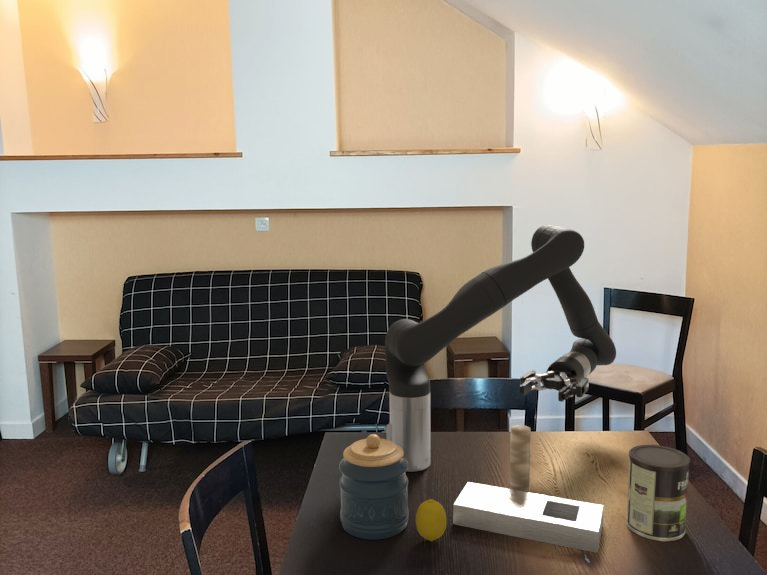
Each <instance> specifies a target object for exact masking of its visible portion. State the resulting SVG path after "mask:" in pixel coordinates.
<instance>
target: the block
mask: <svg viewBox="0 0 767 575" xmlns="http://www.w3.org/2000/svg"><path fill="white" fill-rule="evenodd" d="M604 507H605V506H604V504H600V503H593V502H587V501H581V500H574V499H571V498H570V499H569V498H564V497H559V496H558V497H557V496H552V495H547V494H540V493H534V492H530V491H529V492H524V491H518V490H512V489H510V488H507V487H501V486H500V487H499V486H495V485H489V484H483V483H476V482H472V481H471V482H470V481H467V483H466V484H465V486H464V487H463V489H462V490H461V491H460V494H459V495H458V496H457V498H456V499H455V501H454V503H453V507H452V508H453V513H452V518H453V519H452V524H453V525H454V526H455V525H456V526H460V527H464V528H465V527H466V528H470V529H475V530H481V531H485V532H490V533H495V534H501V535H505V536H510V537H515V538H521V539H526V540H530V541H536V542H540V543H545V544H550V545H555V546H560V547H563V548H564V547H566V548H570V549H575V550H581V551H584V552H585V551H586V552H590V553H595V554H598V552H599V548H600V543H601V536H602V531H603V527H604V524H603V523H604Z"/></svg>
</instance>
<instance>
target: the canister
mask: <svg viewBox="0 0 767 575" xmlns="http://www.w3.org/2000/svg"><path fill="white" fill-rule="evenodd" d="M403 455H404V452H403V449H402V448H401V447H400V446H398V445H396V444H394V443H393V442H392V441H390V440H387V438H386V439H385V438H383V437H382V438H381V437H380V436H379V435H378V434H376V433H373V434H372V433H371V434H368V436H366V438H362V439H359V440H357V441H354V442H353V443H352V444H350V445H349V446H347V447H346V448H344V451H343V453H342V456H343V458H342V459H341V461H340V462H339V465H338V469H339V471H340V473H341V477H340V479H339V487H340V511H339V513H340V514H339V518H340V522H341V525H342V528H343V530H344V531H345V532H346V533H348V534H349V535H351V536H353V537H355V538H359V539H363V540H374V541H375V540H384V539H388V538H392V537H395V536H396V535H399V534H400V533H402V532H403V531H404V530H405V529H406V527H407V526H408V520H409V518H410V517H409V516H410V515H409V512H410V510H409V507H408V502H409V501H408V499H409V498H408V491H409V490H408V486H409V479H408V476H407V475H406V472H407V471H406V470H407V469H408V462H407V460H406V459H405V458H404V457H403Z"/></svg>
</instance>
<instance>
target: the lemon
mask: <svg viewBox="0 0 767 575" xmlns="http://www.w3.org/2000/svg"><path fill="white" fill-rule="evenodd" d="M447 521H448V520H447V512H446V510H445V508H444V506H443V505H442V504H441V503H440V502H439V501H437V500H434V499H433V498H429V499H426V500H424V501H423V502H421V503H420V505H419V506H418V508H417V510H416V514H415V527H416V530H417V532H418V533H419V535H420V536H421V537H422V538H424V539H425V540H428V541H429V542H433V541H435V540H437V539H439V538H441V537H442V536H443V534H444V533H445V531H446V528H447Z"/></svg>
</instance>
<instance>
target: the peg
mask: <svg viewBox="0 0 767 575" xmlns="http://www.w3.org/2000/svg"><path fill="white" fill-rule="evenodd" d="M531 430H532V429H531V427H530V426H527V425H524V424H516V425H515V424H514V425H511V426H510V438H509V439H510V442H509V443H510V444H509V447H510V448H509V450H510V452H509V455H510V456H509V457H510V458H509V489H512V490H518V491H524V492H530V483H531V482H530V478H531V477H530V476H531V475H530V474H531V438H532V437H531V434H532V433H531V432H532V431H531Z"/></svg>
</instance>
